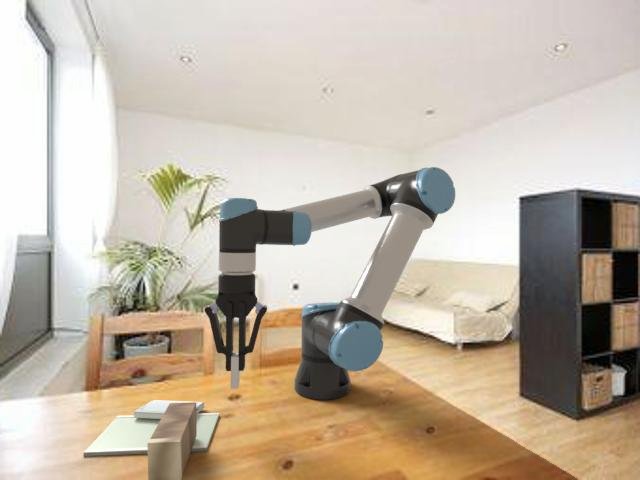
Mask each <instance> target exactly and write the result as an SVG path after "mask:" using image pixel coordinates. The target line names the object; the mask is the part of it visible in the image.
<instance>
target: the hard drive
mask: <svg viewBox="0 0 640 480" xmlns="http://www.w3.org/2000/svg"><path fill="white" fill-rule="evenodd" d="M190 402H191V401H187V400H186V401H184V400H166V399H165V400H163V399H153V400H151V401H149V402H147V403H146V404H144V405H142V406H141V407H139V408H137V409H136V410H134V412H133V415H134V418H150V419H161V418H162V416H163V415H164V413H165V411H166V409H167V407H168V406H169V404H170V403H190ZM195 402H196V414H197V413H201V411H203V410H204V409H205V402H204V401H195Z"/></svg>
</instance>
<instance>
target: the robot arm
mask: <svg viewBox="0 0 640 480" xmlns="http://www.w3.org/2000/svg"><path fill="white" fill-rule="evenodd" d="M455 200H456V188H455V186H454V181H453V179H452V177H451V176H450V174H448V172H446V170H444V169H442V168H440V167H437V166H436V167H435V166H433V167H423V168H421V169H418V170H414V171H410V172H405V173H400V174H397V175H395V176H392V177H389V178H386V179H384V180H382V181H379V182H376V183H373V184H370V185H366V186H364V188H363V189H362V190H359V191H356V192H351V193H346V194H343V195H338V196H335V197H330V198H325V199H322V200H318V201H317V200H316V201H314V202H310V203H309V202H308V203H304V204H301V205H297V206H292V207H289V208H288V207H287V208H284V209H281V210H274V209H273V210H269V209H268V210H267V209H260V208H259V207H258V203H257V201H256V200H255V199H252V198H247V197H246V198H245V197H244V198H243V197H228V198H227V197H226V198H225V199H223V200H222V201H221V203H220V211H219V220H218V222H219V226H218V227H219V231H218V232H219V236H218V239H219V243H218V244H219V245H218V246H219V249H218V250H219V251H218V271H219V272H221V273H219V275H218V285H217V286H218V288H217V291H218V292H217V296H216V298H215V301H214V302H213V303H211V304H209V305H207V306H206V307H205V308H204V313H205V314H206V316H207V317H208V319H209V323H210V326H211V331H212V335H213V341H214V346H215V348H216V352H217V353H218V354H223V355H225V371H226V372H230V390H231V389H232V390H233V389H235V390H237V389H239V387H240V380H241V379H240V376H241V375H240V373H241V372H243V371H245V367H246V355H248V354H252V353H253V352H254V349H255V346H256V345H255V344H256V342H257V341H256V340H257V337H258V334H259V330H260V327H261V323H262V319H263V317H265V314H266V313H267V311H268V306H267V305H266V304H264V305H263V304H262V303H261V302H260V301H258V297H257V295H256V275H255V273H254V272H255V271H257V270H256V268H257V264H256V262H257V261H256V260H257V245H270V246H273V245H274V246H293V247H294V246H302V245H303V246H304V245H306V244H308V243H309V241H310V238H311V236H312V233H314V232H317V231H321V230H325V229H328V228H331V227H332V228H333V227H335V226H338V225H339V226H340V225H343V224H347V223H350V222H355V221H358V220H362V219H365V218H366V219H367V218H370V219H372V220H376V219H379V218H384V217H391V218H390V220H389V221H388V223H387V226H386V227H385V229H384V231H383V233H382V235H381V237H380V239H379V241H378V243H377V244H376V247H375V249H374V250H373V252H372V254H371V256H370V257H369V260H368V262H367V264H366V266H365V268H364V269H363V271H362V273H361V275H360V278H359V280H358V281H357V283H356V285H355V287H354V288H353V290H352V292H351V294H350V296H349V297H348V298H343V299H342V300H341V301H340V302H313V303H307V304H305V305H304V306H303V307H302V311H301V317H300V319H301V359H300V363H299V365H298V369H297V371H296V375H295V378H294V391H295V392H296V393H297V394H298V395H300V396H302V397H304V398H308V399H312V400H321V401H322V400H323V401H324V400H334V399H335V400H336V399H339V398H342V397H345V396H346V395H348V394H349V393H350V392H351V387H352V386H351V377H350V374H349V372H360V371H363V370H366V369H368V368H370V367H371V366H373V365H374V364H375V363H376V362H377V361H378V360H379V358H380V356H381V355H382V354H381V353H382V352H383V347H384V341H383V339H384V338H383V337H384V336H383V334H382V329H383V327H384V325H385V321H384V318H383V313H384V310H385V309H386V306H387V304H388V302H389V300H390V298H391V297H392V294H393V292H394V290H395V288H396V286H397V284H398V282H399V280H400V279H401V276H402V275H403V272H404V270H405V268H406V266H407V264H408V262H409V260H410V258H411V256H412V253H413V252H414V250H415V247H416V246H417V244H418V242H419V240H420V238H421V236H422V234H423V232H424V231H425V230H428V229H431V228H432V227H433V226H434V223H435V222H436V219H437V217H438V215H439V214H440V215H442V214H446V212H448V211H450V210H451V209H452V207H453V206H454V204H455ZM254 307H255V314H256V316H255V320H254V324H253V327H252V332H251V335H250V338H249V343H248V345H246V343H247V342H246V339H247V336H246V335H247V317H248V316H249V315H250V313H251V312H252V311H253V310H254ZM218 308H219V310H220V311H221V313H222V314H223V315H224V316H225V343H224V339H223V333H222V328H221V326H220V320H219V316H218V311H219V310H218ZM235 318H237V319H238V352H233V351H234V330H235V329H234V327H235V325H234V324H235Z"/></svg>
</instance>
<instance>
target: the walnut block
mask: <svg viewBox="0 0 640 480" xmlns="http://www.w3.org/2000/svg"><path fill="white" fill-rule="evenodd" d="M189 402H190V403H170V404H169V406H168V407H167V409H166V411H165V413H164V415H163V416H162V418H161V420H160V422H159V424H158V426H157V427H156V429H155V431H154V433H153V435H152V436H151V438H150V439H149V441H148V443H147V445H148V454H147V469H148V470H147V478H148V479H147V480H182V478H183V474H184V473H185V472H184V471H185V469H186V466H187V463H188V461H189V458H190V455H191V450H192V447H193V444H194V442H195V439H196V436H197V429H196V402H197V401H189Z"/></svg>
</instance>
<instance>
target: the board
mask: <svg viewBox="0 0 640 480" xmlns="http://www.w3.org/2000/svg"><path fill="white" fill-rule="evenodd" d="M219 418H220V412H204V413H203V412H199V413H197V414H196V429H197V436H196V439H195V442H194V444H193V447H192V450H191V452H194V453H195V452H207V450H208V448H209V445H210V442H211V440H212V436H213V434H214V431H215V429H216V426H217V423H218V420H219ZM160 420H161V419H150V418H134V414H133V415H117V416H115V418H114V419H113V420H112V422H111V423H110V424H109V425H108V426H107V427H106V428H105V429H104V430H103V431H102V432H101V433H100V434H99V435H98V436H97V438H96V439H95V440H93V442H92V443H91V444H90V445H89V446H88V447H87V448H86V449H85V450H84V451H83V457H89V456H90V457H92V456H93V457H95V456H97V457H98V456H115V455H116V456H117V455H118V456H120V455H144V454H146V455H148V445H147V443H148V441H149V439H150V438H151V436H152V435H153V433H154V431H155V429H156V427H157V426H158V424H159V422H160Z"/></svg>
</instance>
